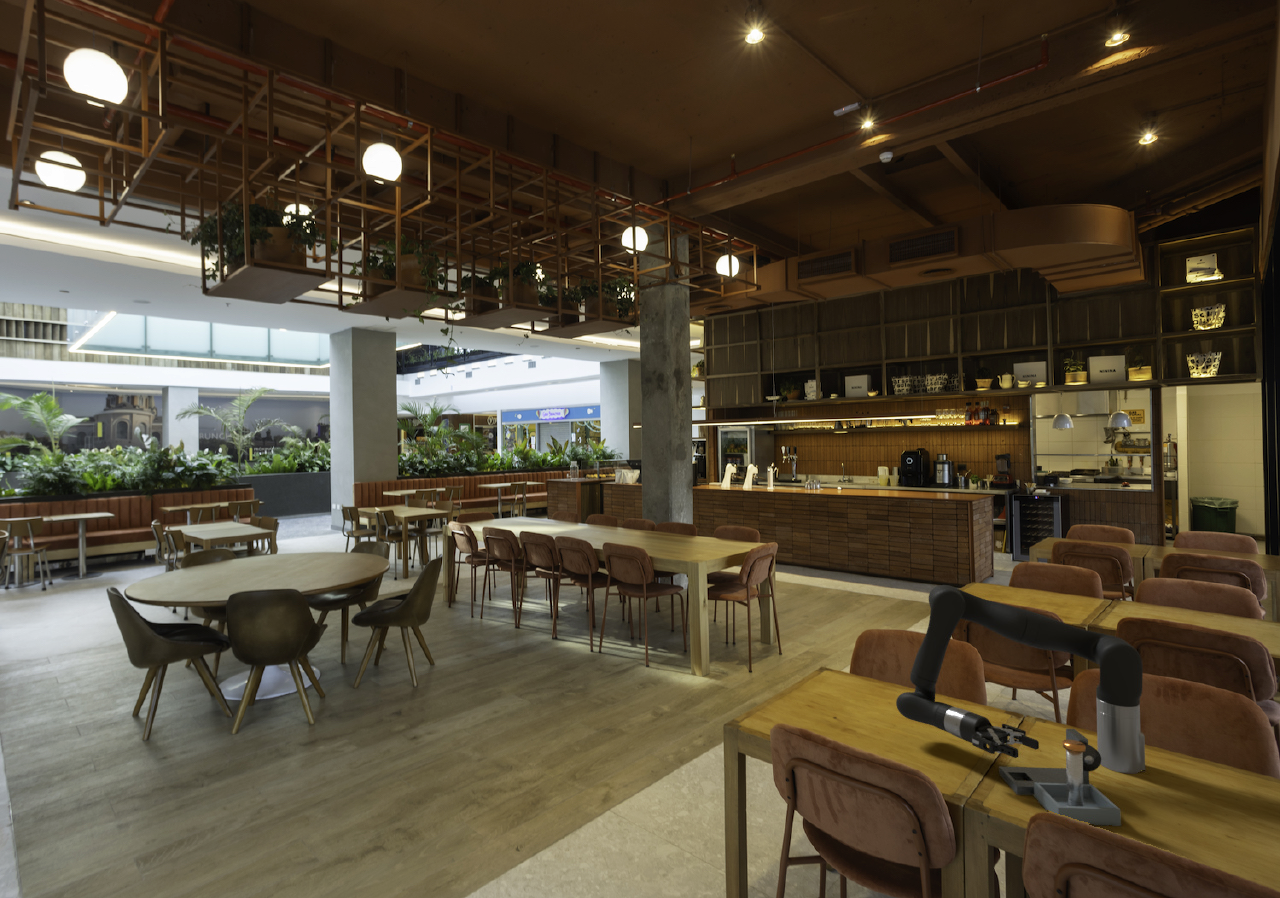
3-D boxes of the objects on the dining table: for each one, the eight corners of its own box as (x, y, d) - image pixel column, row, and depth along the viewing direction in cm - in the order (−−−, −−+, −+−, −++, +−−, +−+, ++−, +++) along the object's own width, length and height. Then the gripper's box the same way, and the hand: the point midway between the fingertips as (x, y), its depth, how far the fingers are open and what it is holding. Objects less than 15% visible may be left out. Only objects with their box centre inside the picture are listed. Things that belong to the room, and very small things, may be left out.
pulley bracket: (1079, 776, 166) (1078, 725, 166) (1103, 798, 156) (1102, 743, 156) (999, 774, 168) (997, 724, 168) (1017, 795, 158) (1016, 741, 158)
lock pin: (1076, 802, 153) (1075, 738, 153) (1091, 812, 149) (1090, 747, 149) (1059, 804, 153) (1058, 740, 153) (1074, 814, 148) (1072, 749, 148)
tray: (1092, 799, 156) (1091, 784, 156) (1120, 826, 145) (1120, 809, 145) (1034, 797, 157) (1034, 782, 157) (1058, 823, 146) (1058, 807, 146)
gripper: (949, 717, 171) (1010, 741, 157) (983, 706, 178) (1044, 727, 164) (950, 746, 171) (1010, 772, 157) (983, 733, 178) (1044, 757, 164)
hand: (1027, 749), depth 160 cm, fingers open, 8 cm apart
